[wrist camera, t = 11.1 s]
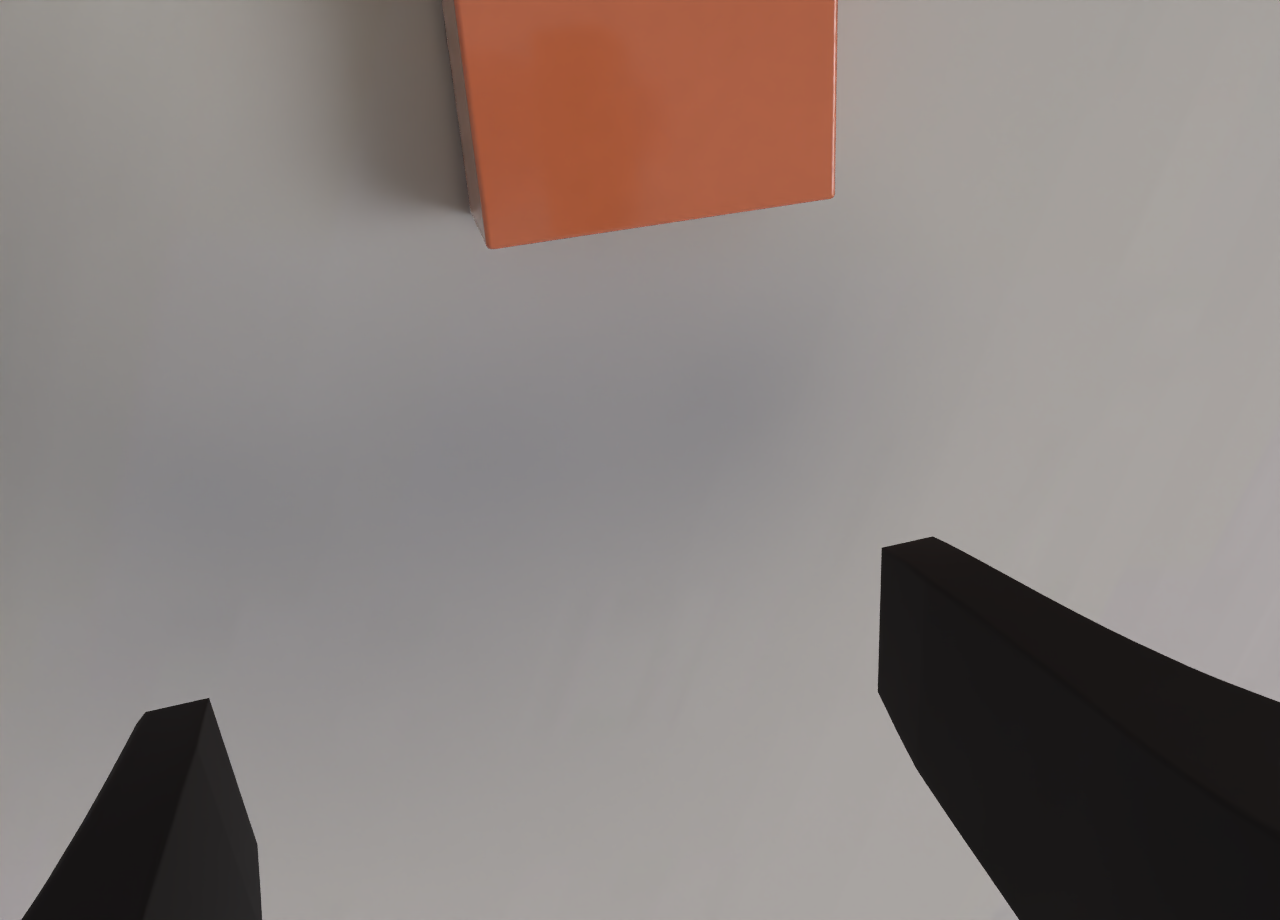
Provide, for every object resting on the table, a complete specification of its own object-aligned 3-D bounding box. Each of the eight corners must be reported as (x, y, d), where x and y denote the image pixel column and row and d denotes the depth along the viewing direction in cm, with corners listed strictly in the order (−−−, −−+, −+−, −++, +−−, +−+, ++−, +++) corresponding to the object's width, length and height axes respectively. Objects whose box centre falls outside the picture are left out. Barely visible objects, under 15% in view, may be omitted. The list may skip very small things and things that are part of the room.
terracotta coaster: (470, 216, 20) (487, 252, 18) (417, -171, 17) (431, -167, 15) (795, 169, 21) (836, 199, 19) (794, -203, 18) (843, -201, 16)
